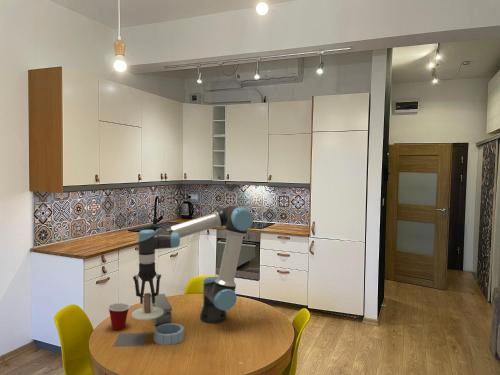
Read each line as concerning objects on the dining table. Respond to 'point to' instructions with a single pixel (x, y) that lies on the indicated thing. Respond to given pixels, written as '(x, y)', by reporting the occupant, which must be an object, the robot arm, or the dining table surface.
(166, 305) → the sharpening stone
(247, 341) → the dining table surface
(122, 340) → the mat
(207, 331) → the dining table surface
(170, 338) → the bowl
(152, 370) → the dining table surface
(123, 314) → the plastic cup
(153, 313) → the lid
